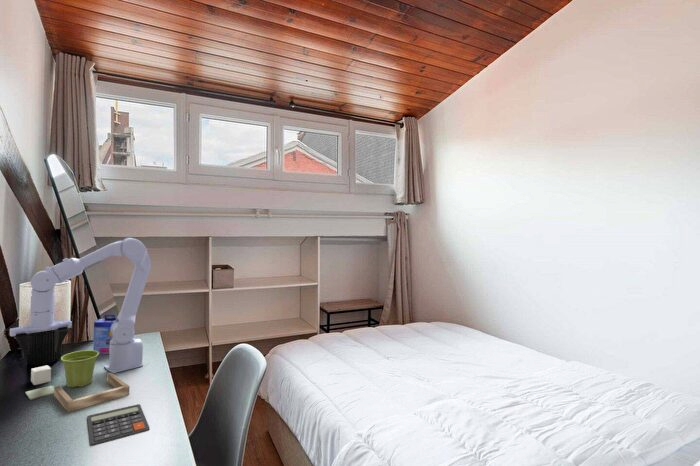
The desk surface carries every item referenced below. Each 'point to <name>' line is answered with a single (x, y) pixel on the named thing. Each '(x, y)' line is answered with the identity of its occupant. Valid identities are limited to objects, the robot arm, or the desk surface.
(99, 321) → the ink cartridge box
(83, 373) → the plant pot
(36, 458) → the desk surface
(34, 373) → the cream block
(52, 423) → the desk surface
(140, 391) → the desk surface
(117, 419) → the calculator
